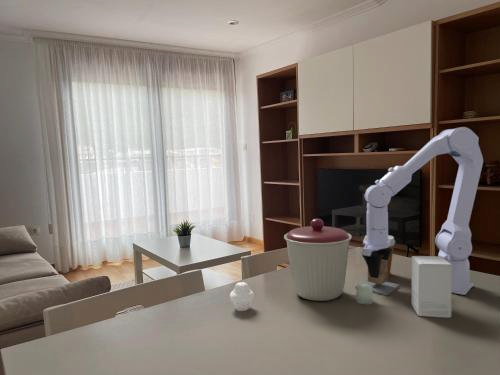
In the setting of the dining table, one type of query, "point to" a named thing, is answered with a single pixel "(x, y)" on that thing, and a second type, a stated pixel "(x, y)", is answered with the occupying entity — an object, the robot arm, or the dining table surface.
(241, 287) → the white rounded piece
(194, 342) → the dining table surface
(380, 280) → the walnut block
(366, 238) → the disposable coffee cup
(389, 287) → the slate mat
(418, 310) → the supplement box
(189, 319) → the dining table surface
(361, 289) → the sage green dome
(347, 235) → the canister
